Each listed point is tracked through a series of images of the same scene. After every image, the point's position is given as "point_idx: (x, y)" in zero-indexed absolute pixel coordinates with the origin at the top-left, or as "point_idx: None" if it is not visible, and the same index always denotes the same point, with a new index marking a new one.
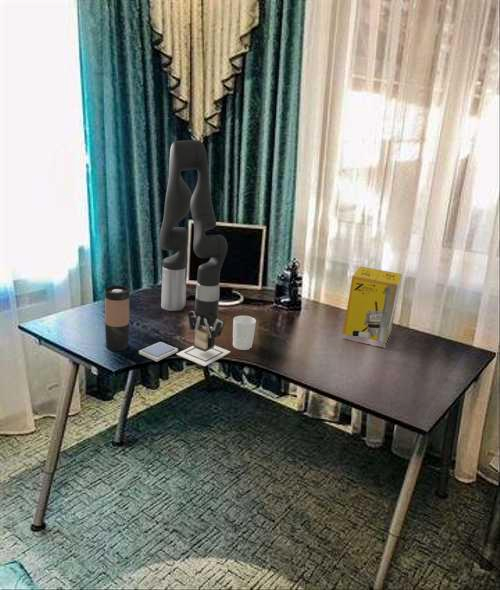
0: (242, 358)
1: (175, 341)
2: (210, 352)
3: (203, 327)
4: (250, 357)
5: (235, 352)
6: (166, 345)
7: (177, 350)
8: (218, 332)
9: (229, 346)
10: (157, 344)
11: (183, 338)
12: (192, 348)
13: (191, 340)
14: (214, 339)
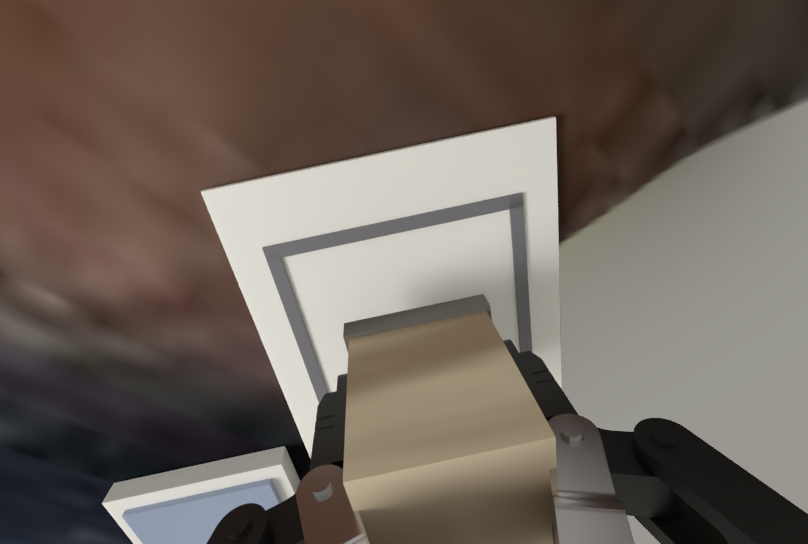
0: (705, 109)
1: (98, 383)
2: (447, 286)
3: (358, 497)
4: (761, 18)
5: (586, 71)
6: (198, 507)
7: (285, 460)
8: (693, 482)
9: (449, 13)
10: (155, 541)
11: (53, 300)
12: (305, 361)
13: (127, 265)
14: (568, 402)
